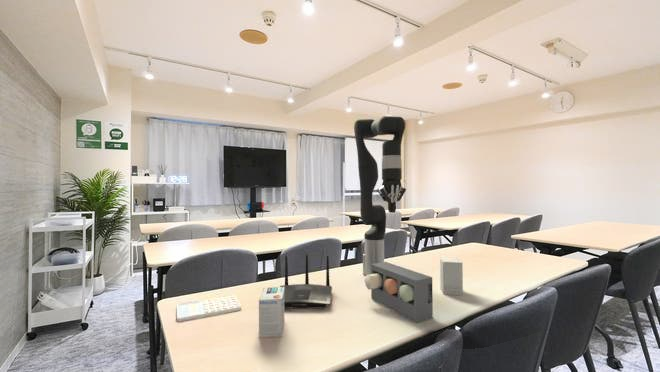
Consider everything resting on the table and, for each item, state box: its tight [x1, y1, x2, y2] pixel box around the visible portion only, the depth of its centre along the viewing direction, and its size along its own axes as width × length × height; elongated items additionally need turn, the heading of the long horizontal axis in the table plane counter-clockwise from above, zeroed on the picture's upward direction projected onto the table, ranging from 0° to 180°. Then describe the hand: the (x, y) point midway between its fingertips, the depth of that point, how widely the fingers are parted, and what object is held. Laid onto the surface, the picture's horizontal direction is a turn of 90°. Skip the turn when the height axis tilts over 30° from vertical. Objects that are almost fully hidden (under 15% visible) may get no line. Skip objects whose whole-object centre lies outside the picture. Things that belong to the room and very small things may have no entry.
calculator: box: [176, 294, 242, 322], centre depth 105 cm, size 13×20×2 cm, turn 117°
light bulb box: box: [258, 286, 285, 338], centre depth 90 cm, size 11×7×11 cm, turn 5°
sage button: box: [399, 284, 414, 302], centre depth 97 cm, size 5×5×5 cm
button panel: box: [370, 261, 434, 324], centre depth 105 cm, size 7×23×13 cm, turn 29°
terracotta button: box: [384, 278, 398, 295], centre depth 104 cm, size 5×5×5 cm
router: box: [279, 254, 333, 309], centre depth 114 cm, size 21×20×15 cm
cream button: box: [364, 273, 383, 290], centre depth 109 cm, size 5×5×5 cm
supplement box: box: [439, 257, 464, 296], centre depth 120 cm, size 7×7×13 cm
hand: (392, 212), depth 118 cm, fingers closed
